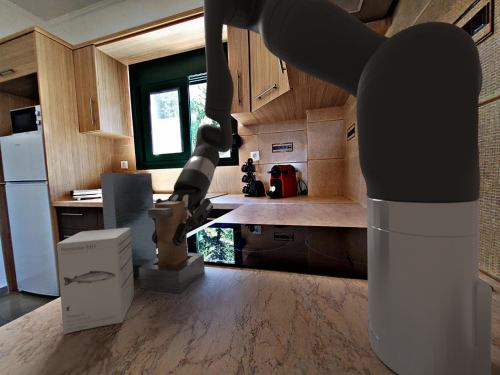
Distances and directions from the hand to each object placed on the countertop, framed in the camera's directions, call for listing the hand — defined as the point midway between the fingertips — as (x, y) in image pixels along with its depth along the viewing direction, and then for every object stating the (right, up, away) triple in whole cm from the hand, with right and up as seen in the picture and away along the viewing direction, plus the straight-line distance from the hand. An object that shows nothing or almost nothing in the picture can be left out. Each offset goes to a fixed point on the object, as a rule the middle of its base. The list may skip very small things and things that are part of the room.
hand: (165, 242), depth 41 cm
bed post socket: (-2, -8, +3) cm, 9 cm away
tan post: (+1, -6, +2) cm, 7 cm away
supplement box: (-6, -9, -8) cm, 14 cm away
